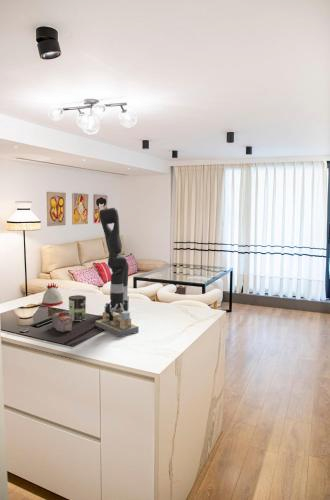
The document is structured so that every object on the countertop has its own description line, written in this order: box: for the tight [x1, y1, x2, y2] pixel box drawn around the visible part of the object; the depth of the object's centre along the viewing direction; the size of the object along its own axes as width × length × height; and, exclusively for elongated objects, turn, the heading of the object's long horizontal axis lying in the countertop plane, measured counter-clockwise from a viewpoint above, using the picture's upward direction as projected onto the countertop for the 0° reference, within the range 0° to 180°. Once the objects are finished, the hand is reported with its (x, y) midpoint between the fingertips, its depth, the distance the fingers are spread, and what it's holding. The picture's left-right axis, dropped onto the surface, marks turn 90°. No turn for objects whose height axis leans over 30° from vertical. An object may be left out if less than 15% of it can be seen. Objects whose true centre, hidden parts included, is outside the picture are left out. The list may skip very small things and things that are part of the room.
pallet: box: [102, 311, 132, 329], centre depth 211 cm, size 6×20×5 cm, turn 43°
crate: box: [121, 310, 131, 320], centre depth 205 cm, size 4×4×4 cm
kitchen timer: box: [41, 282, 63, 307], centre depth 263 cm, size 14×14×15 cm
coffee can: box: [68, 294, 87, 322], centre depth 227 cm, size 10×10×14 cm
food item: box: [51, 311, 73, 333], centre depth 207 cm, size 14×8×10 cm, turn 45°
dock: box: [95, 318, 140, 337], centre depth 211 cm, size 13×24×3 cm, turn 43°
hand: (116, 319), depth 211 cm, fingers open, 7 cm apart
